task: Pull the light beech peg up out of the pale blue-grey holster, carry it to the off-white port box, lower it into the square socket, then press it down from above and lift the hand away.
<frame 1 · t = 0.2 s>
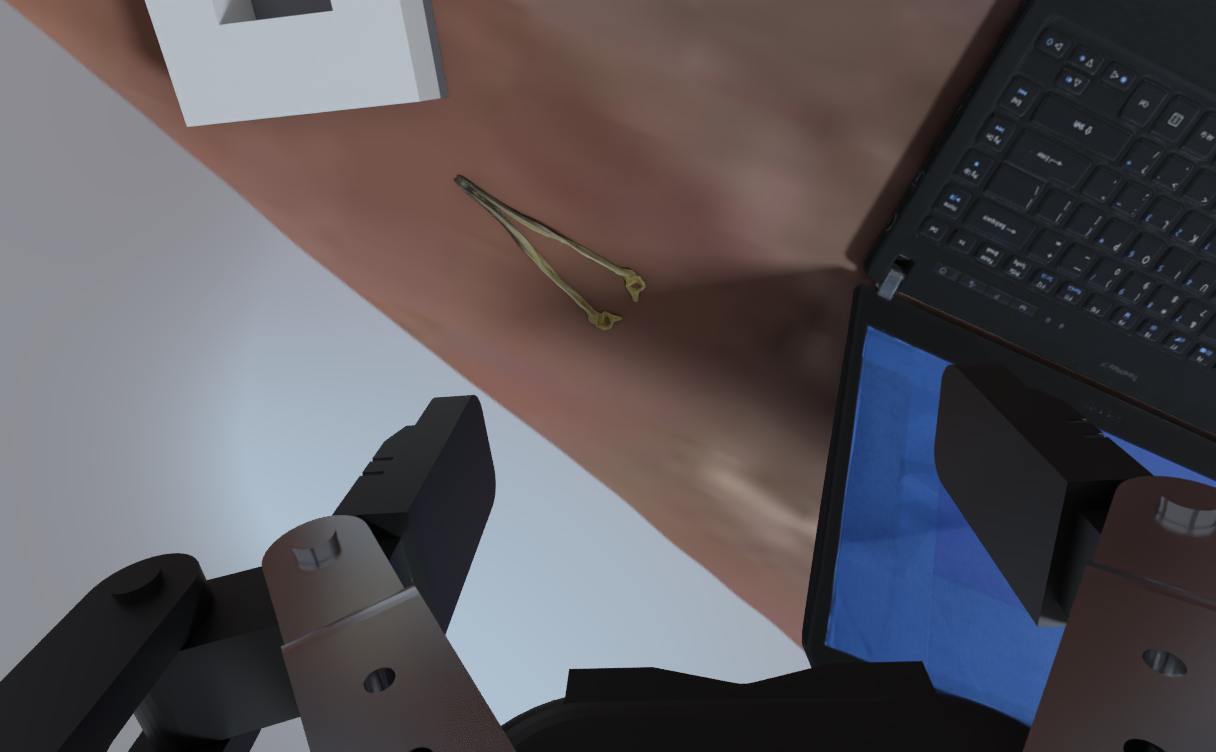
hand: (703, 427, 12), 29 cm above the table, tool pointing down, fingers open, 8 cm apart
laptop: (1144, 302, 40), on the table
tan bony v-shaped piece: (544, 247, 41), on the table
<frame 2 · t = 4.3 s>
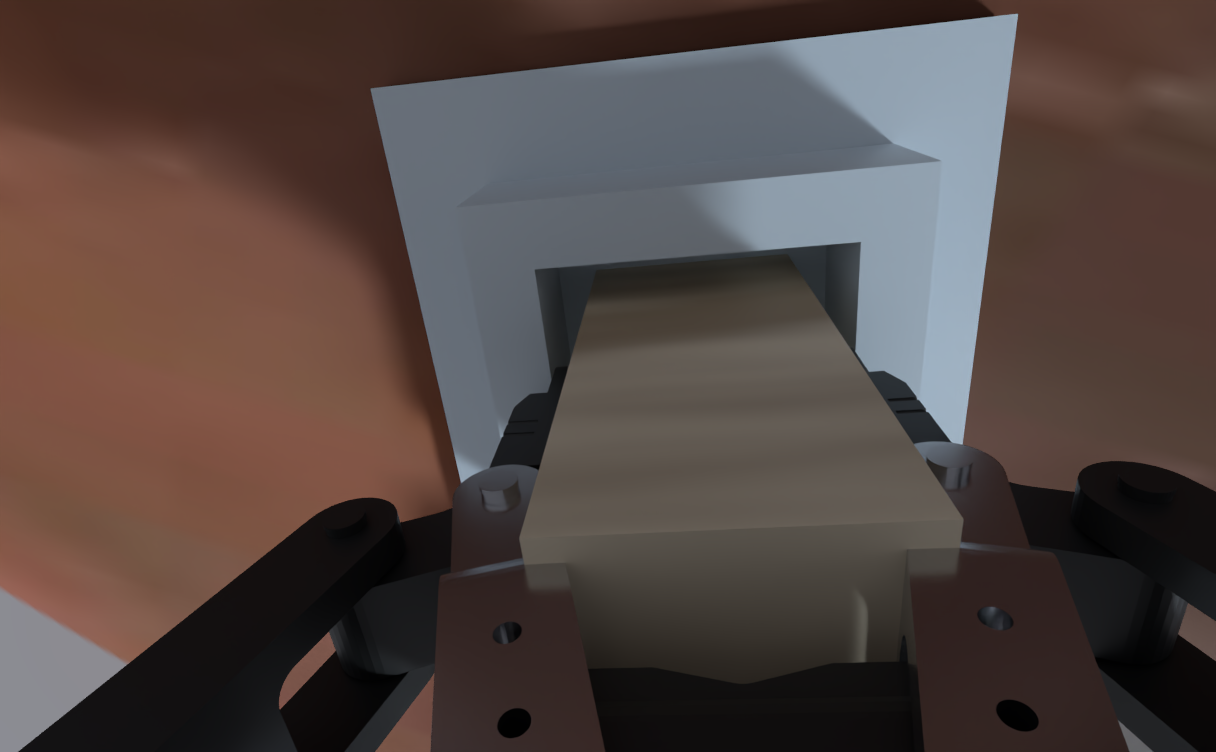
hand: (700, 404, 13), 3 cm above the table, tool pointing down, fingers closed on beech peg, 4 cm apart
beech peg: (695, 349, 15), point 1 cm above the table, touching gripper, holster
holster: (693, 336, 16), on the table
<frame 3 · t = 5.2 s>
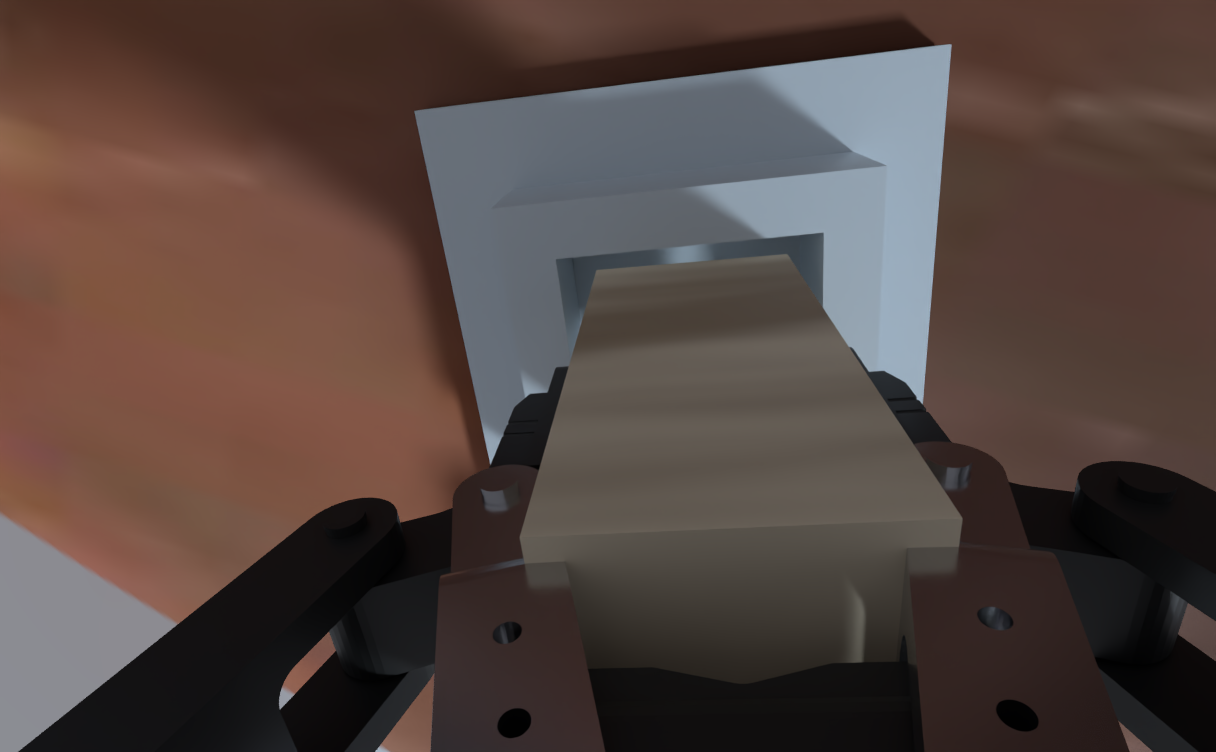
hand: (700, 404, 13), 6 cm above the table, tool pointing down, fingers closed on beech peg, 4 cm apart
beech peg: (695, 349, 15), point 3 cm above the table, touching gripper
holster: (688, 319, 18), on the table
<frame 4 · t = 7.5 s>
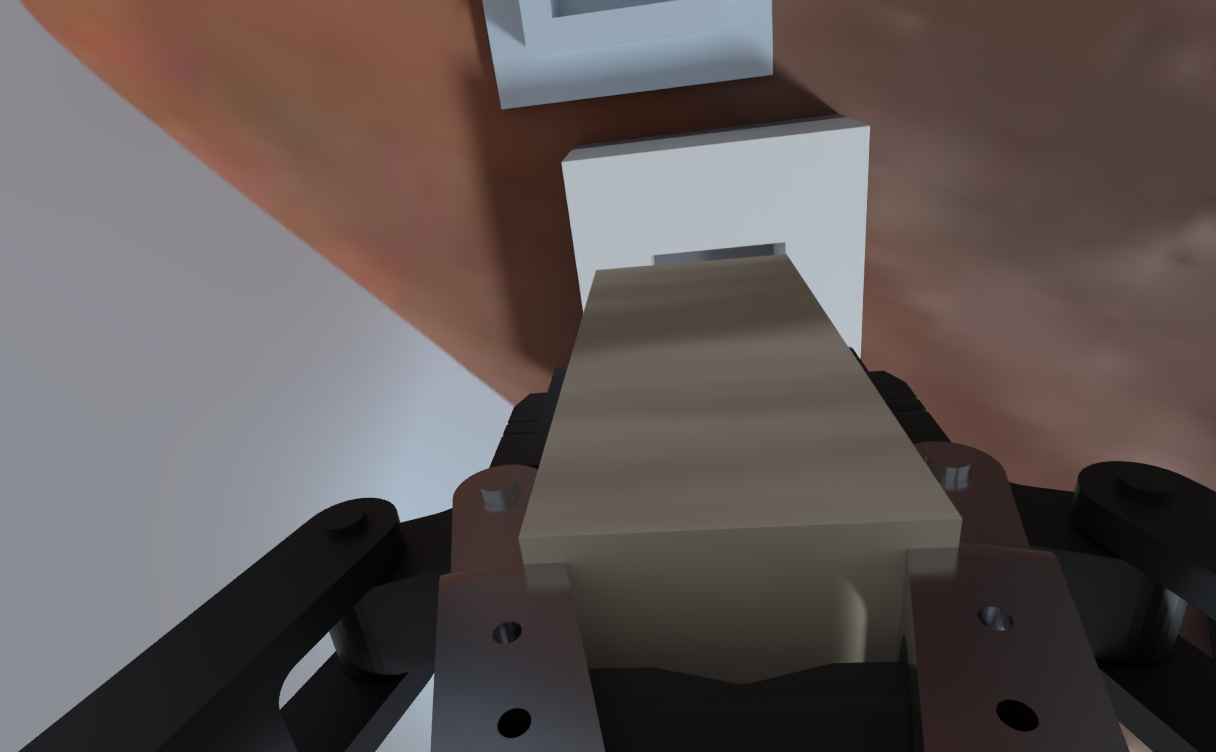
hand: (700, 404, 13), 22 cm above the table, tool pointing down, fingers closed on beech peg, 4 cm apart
beech peg: (694, 349, 15), point 19 cm above the table, touching gripper
port box: (712, 276, 34), on the table
when the fingers open (6 cm above the table, at t = 10.8 s): beech peg drops 2 cm, resting on port box.
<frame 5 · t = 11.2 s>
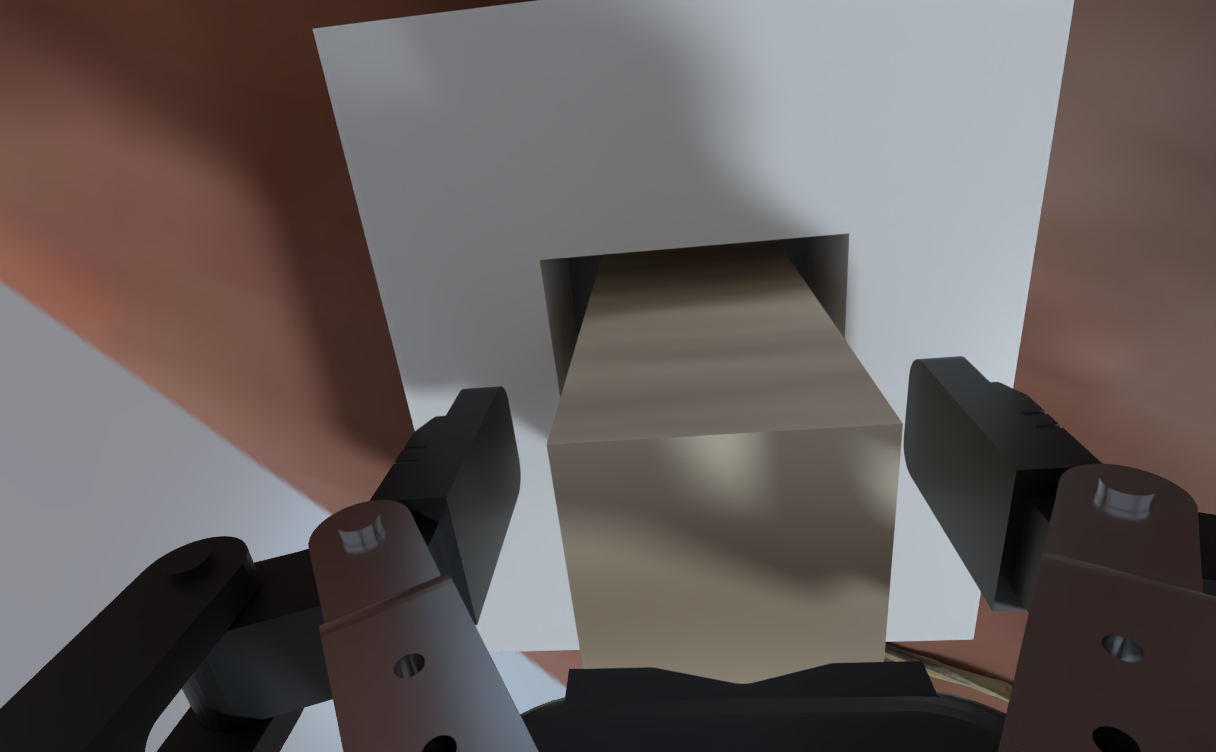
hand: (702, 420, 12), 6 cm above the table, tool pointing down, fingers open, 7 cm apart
beech peg: (692, 326, 17), point 2 cm above the table, touching port box
port box: (688, 303, 18), on the table
tan bony v-shaped piece: (930, 674, 24), on the table
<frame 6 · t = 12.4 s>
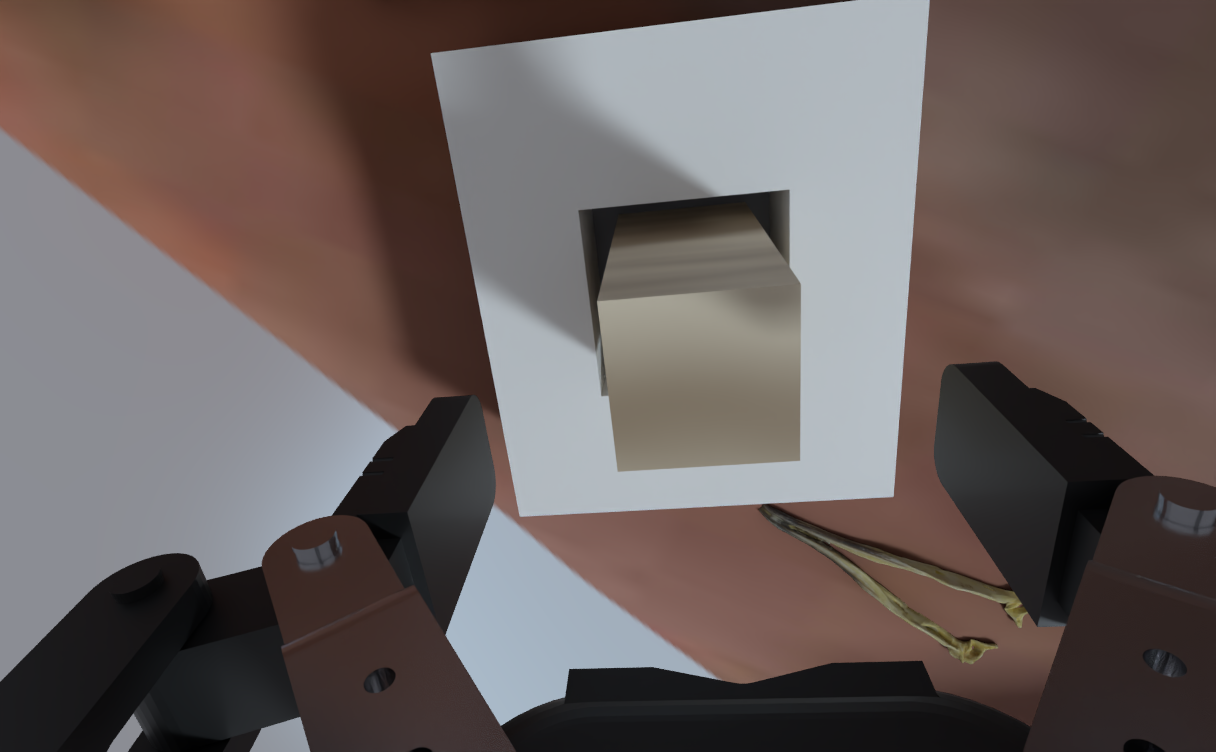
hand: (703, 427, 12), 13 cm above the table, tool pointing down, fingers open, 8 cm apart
beech peg: (685, 269, 22), point 1 cm above the table, touching port box
port box: (682, 256, 24), on the table
tan bony v-shaped piece: (877, 566, 30), on the table
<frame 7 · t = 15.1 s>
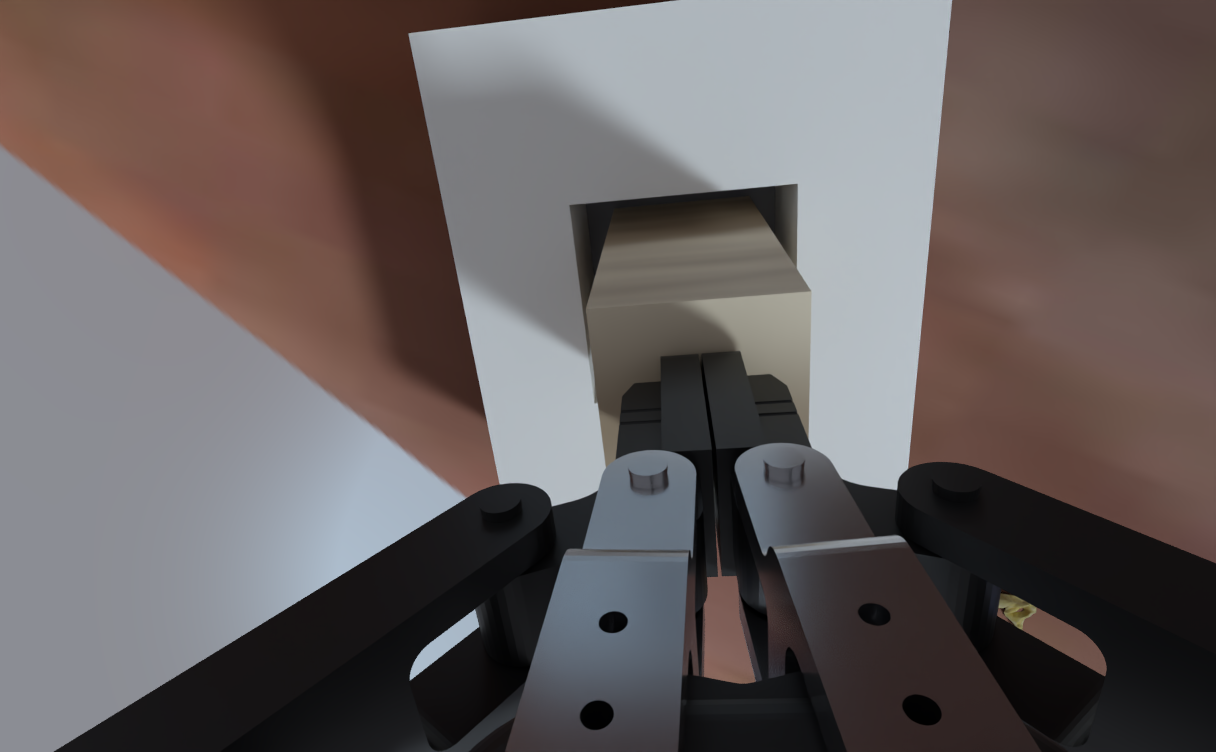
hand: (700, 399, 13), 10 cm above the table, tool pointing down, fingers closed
beech peg: (684, 267, 21), point 1 cm above the table, touching gripper, port box
port box: (681, 252, 22), on the table
tan bony v-shaped piece: (870, 570, 29), on the table
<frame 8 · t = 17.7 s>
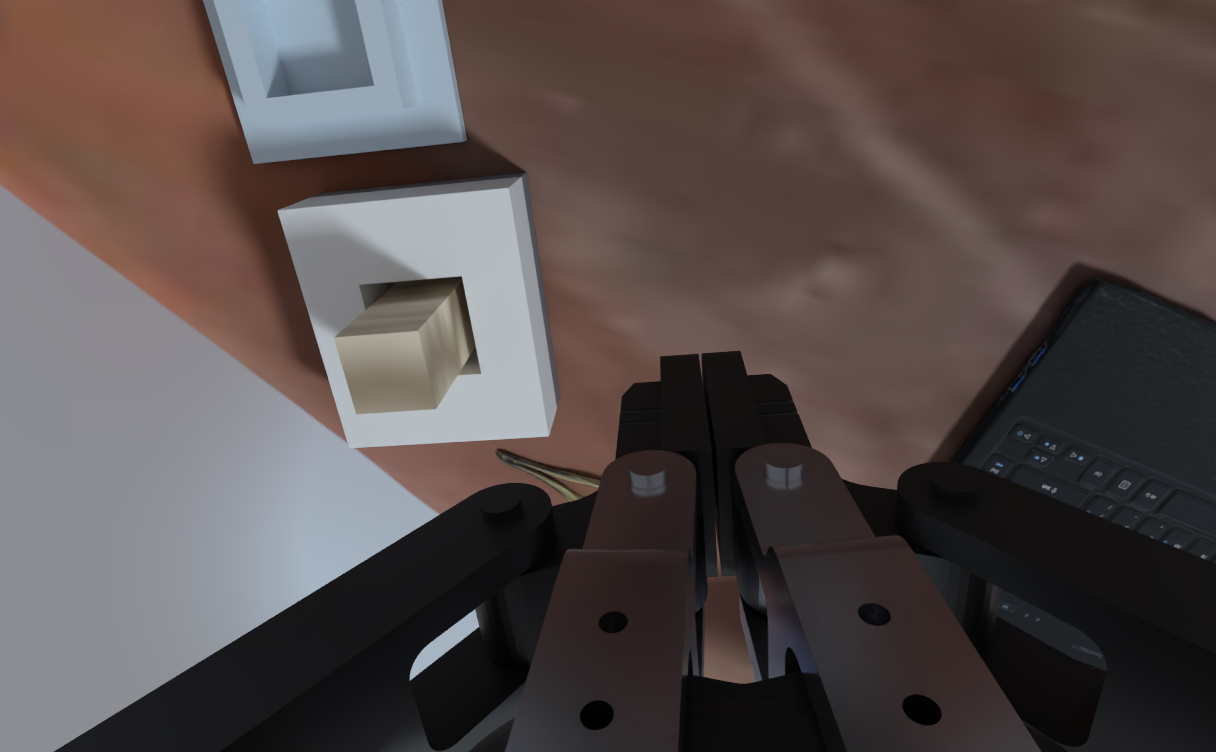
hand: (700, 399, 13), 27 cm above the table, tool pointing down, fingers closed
beech peg: (441, 309, 40), point 1 cm above the table, touching port box
port box: (447, 300, 41), on the table
laptop: (1107, 592, 48), on the table
tan bony v-shaped piece: (582, 485, 47), on the table
holster: (333, 31, 35), on the table
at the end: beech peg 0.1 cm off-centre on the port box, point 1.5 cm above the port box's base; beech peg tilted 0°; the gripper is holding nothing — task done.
